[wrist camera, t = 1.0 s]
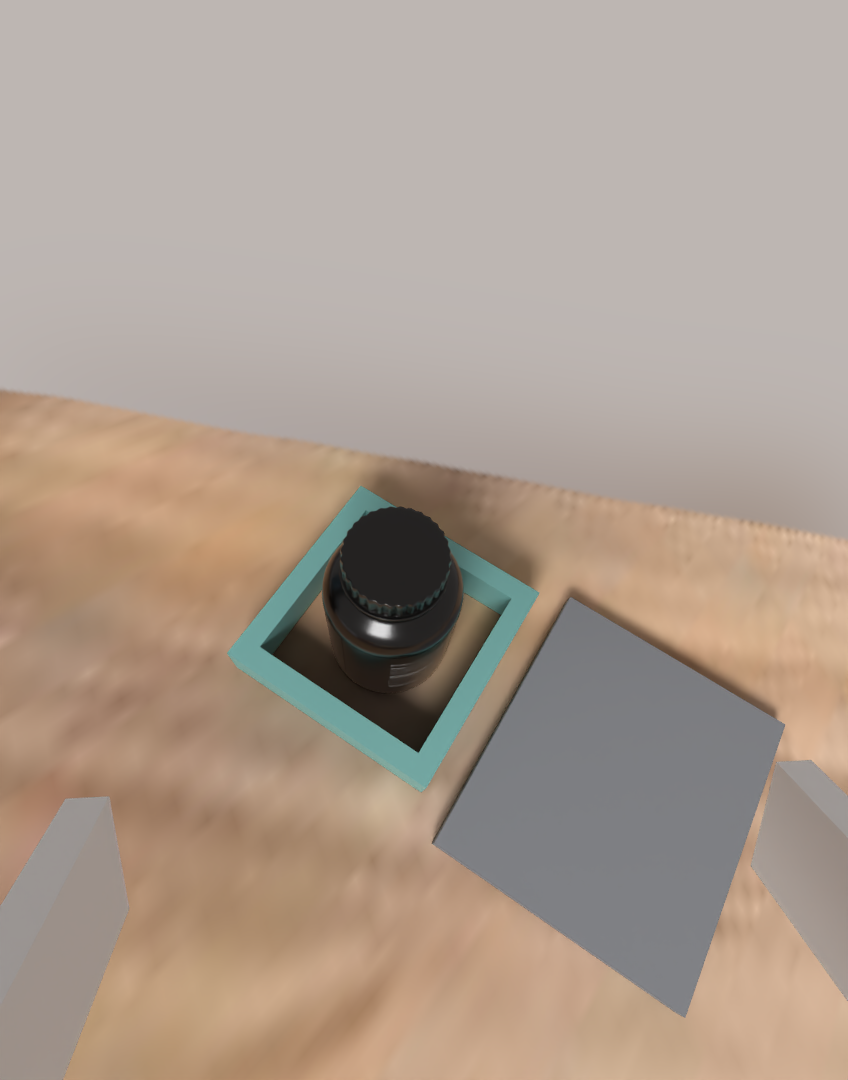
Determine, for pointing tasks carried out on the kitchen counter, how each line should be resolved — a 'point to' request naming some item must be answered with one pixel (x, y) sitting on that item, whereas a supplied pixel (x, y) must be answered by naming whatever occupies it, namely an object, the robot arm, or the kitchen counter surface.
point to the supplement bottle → (392, 599)
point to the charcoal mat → (617, 800)
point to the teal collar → (333, 714)
